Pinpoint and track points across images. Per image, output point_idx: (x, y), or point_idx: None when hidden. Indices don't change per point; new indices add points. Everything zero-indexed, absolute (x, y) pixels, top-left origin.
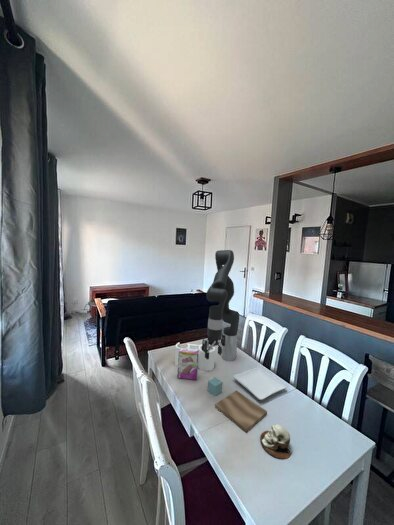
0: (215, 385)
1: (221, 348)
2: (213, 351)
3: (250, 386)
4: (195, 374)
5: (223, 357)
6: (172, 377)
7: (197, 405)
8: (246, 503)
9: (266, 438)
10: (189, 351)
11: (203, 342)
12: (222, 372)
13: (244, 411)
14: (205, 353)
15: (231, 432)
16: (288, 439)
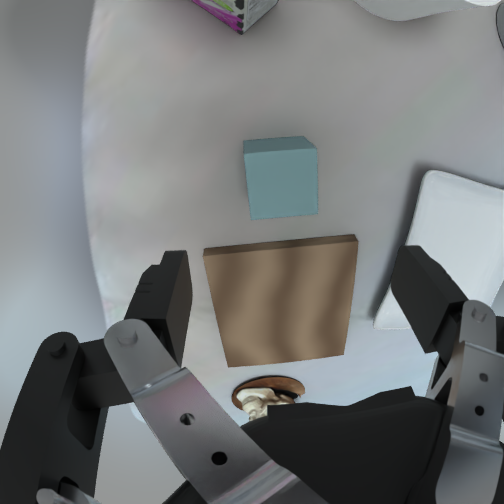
0: (257, 213)
1: (435, 350)
2: (474, 5)
3: (428, 245)
4: (234, 24)
5: (502, 20)
6: None
7: (137, 203)
8: (134, 409)
9: (243, 408)
10: None
11: (14, 501)
12: (425, 79)
13: (281, 330)
14: (134, 318)
15: (189, 342)
16: None
